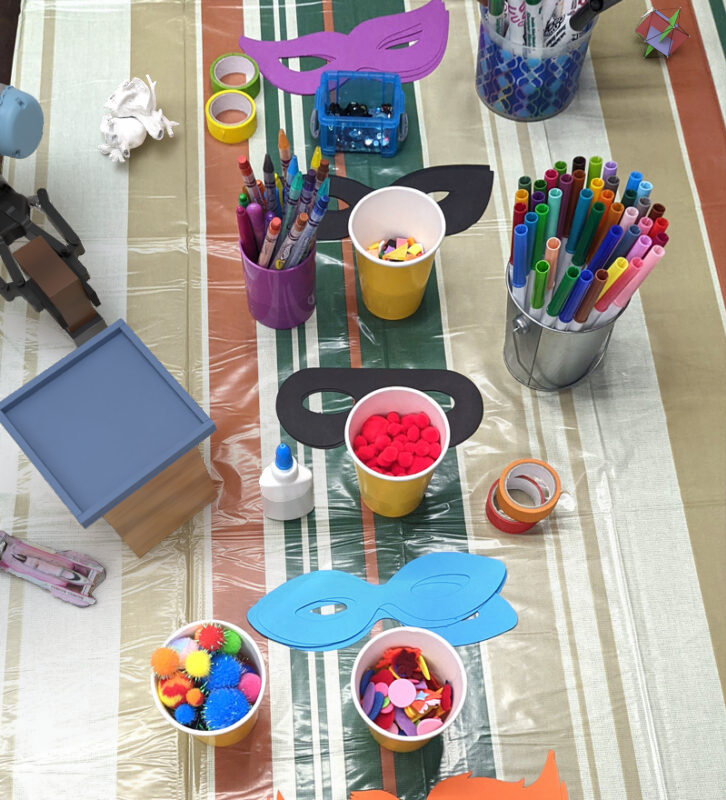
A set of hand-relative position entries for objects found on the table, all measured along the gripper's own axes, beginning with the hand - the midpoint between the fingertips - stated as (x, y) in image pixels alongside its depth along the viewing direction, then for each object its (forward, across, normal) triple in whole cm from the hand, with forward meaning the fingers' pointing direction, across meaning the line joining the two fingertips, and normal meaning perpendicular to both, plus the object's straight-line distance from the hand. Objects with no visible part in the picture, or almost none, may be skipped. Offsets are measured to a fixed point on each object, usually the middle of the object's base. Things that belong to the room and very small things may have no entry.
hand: (78, 310), depth 105 cm
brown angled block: (-5, 0, -7) cm, 9 cm away
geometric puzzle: (+11, -93, -11) cm, 94 cm away
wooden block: (+19, +6, -11) cm, 23 cm away
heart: (-26, -24, -11) cm, 37 cm away
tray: (+19, +7, +9) cm, 22 cm away
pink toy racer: (+20, +21, -11) cm, 31 cm away
